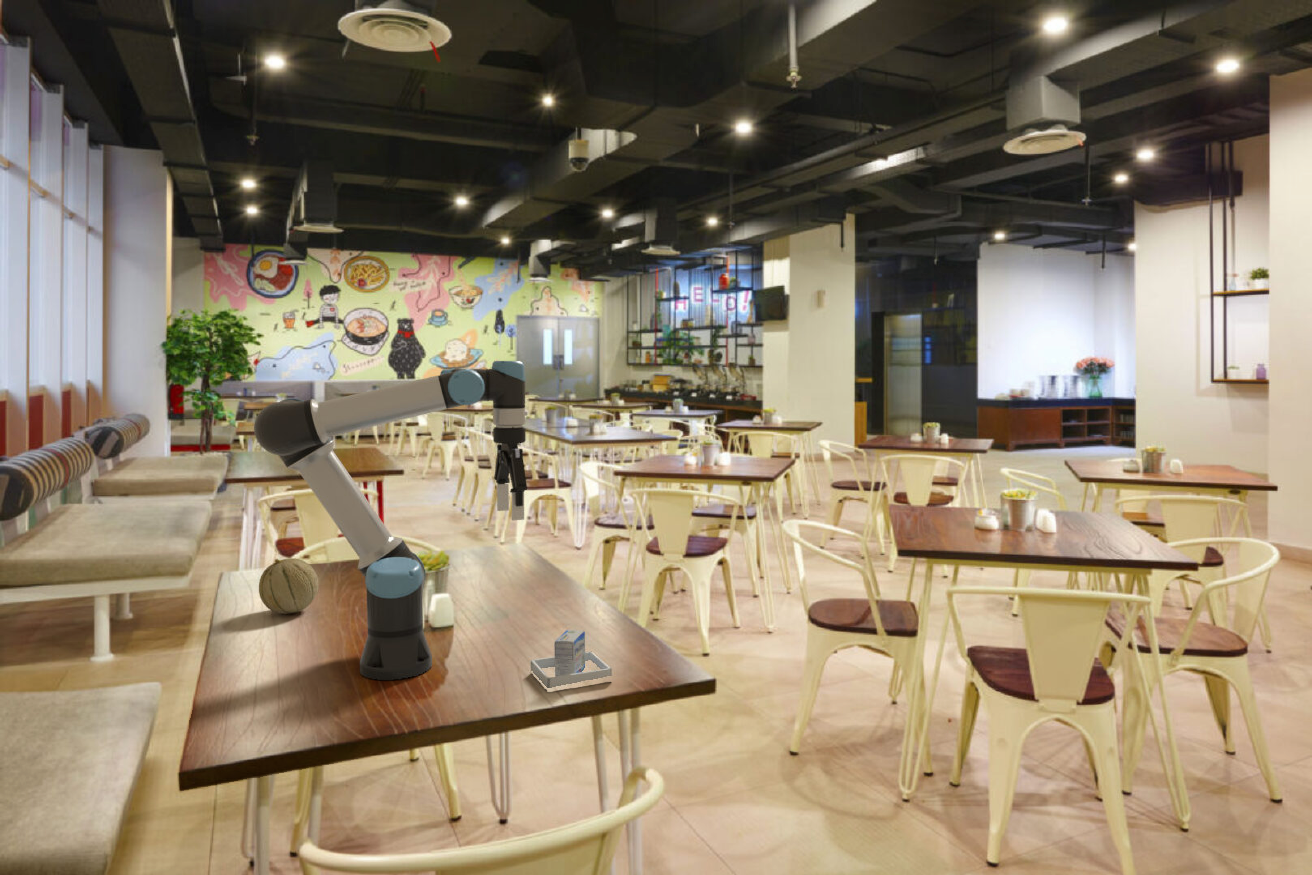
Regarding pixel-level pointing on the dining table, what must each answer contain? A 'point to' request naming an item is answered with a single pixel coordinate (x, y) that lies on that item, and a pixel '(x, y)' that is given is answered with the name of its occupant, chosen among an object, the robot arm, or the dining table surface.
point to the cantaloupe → (288, 586)
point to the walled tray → (570, 678)
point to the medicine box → (570, 653)
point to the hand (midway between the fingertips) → (510, 515)
